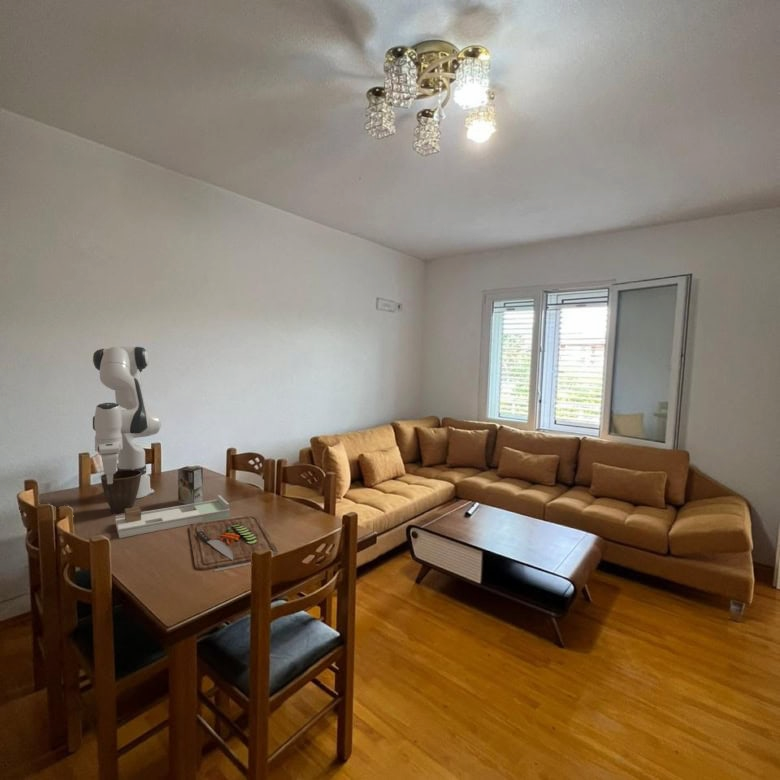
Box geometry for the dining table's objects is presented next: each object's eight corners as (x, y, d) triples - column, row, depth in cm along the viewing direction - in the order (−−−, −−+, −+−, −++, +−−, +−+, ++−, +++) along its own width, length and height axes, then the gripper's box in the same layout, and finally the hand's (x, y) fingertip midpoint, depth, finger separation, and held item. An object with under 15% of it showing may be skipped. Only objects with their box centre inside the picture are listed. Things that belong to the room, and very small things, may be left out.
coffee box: (203, 500, 198) (203, 467, 197) (194, 505, 192) (194, 470, 191) (186, 498, 200) (187, 465, 199) (177, 503, 194) (177, 469, 193)
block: (124, 518, 167) (124, 508, 167) (139, 516, 171) (139, 506, 170) (126, 522, 164) (126, 512, 163) (141, 520, 167) (141, 510, 166)
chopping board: (281, 560, 144) (281, 551, 144) (196, 576, 131) (196, 567, 131) (255, 516, 183) (256, 509, 183) (188, 525, 170) (188, 518, 170)
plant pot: (102, 519, 172) (102, 480, 171) (99, 508, 184) (98, 472, 183) (144, 511, 182) (144, 475, 181) (138, 502, 193) (138, 468, 192)
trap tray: (115, 524, 168) (115, 510, 167) (219, 506, 192) (219, 494, 192) (119, 538, 155) (119, 523, 155) (229, 516, 180) (229, 504, 179)
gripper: (98, 442, 167) (99, 476, 168) (99, 450, 151) (100, 488, 151) (117, 440, 171) (117, 474, 172) (120, 448, 154) (120, 485, 155)
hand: (109, 480), depth 161 cm, fingers open, 8 cm apart
